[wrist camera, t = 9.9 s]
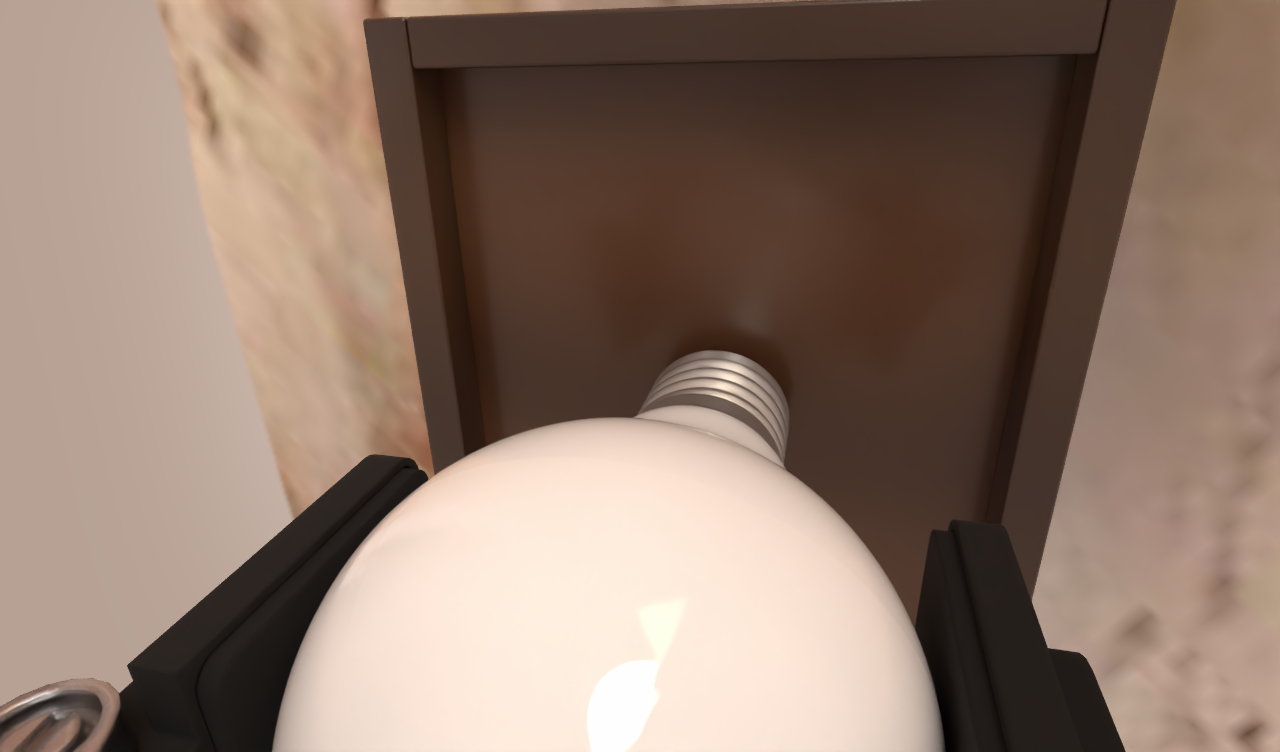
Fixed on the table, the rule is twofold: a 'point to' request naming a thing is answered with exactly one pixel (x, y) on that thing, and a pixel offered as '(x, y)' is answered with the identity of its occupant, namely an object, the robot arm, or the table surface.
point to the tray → (778, 229)
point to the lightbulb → (618, 599)
